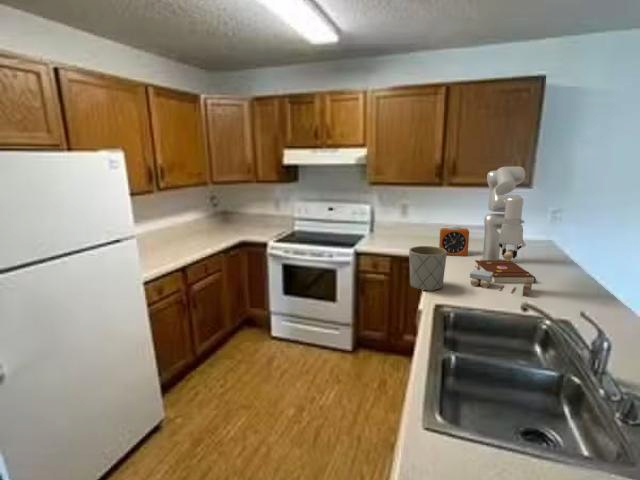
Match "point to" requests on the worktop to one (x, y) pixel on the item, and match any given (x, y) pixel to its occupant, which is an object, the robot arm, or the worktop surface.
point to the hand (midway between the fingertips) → (509, 257)
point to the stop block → (527, 288)
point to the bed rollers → (485, 283)
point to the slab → (481, 275)
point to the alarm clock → (454, 240)
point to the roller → (508, 254)
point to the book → (505, 271)
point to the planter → (427, 267)
